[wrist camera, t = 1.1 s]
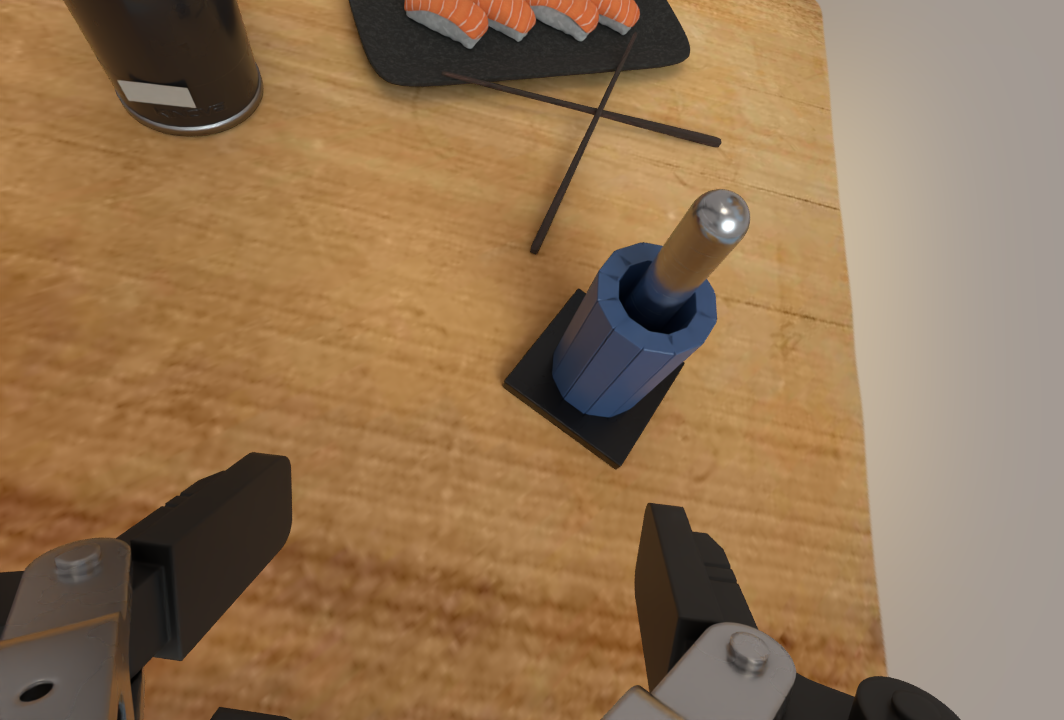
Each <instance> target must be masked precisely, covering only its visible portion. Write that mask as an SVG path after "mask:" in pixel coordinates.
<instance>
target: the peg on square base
mask: <svg viewBox="0 0 1064 720" xmlns="http://www.w3.org/2000/svg"><path fill="white" fill-rule="evenodd" d="M749 224H750V212H749V208H748V206H747V204H746V202H745V201H744V200H743V198H742V197H741V196H739V195H738V194H736V193H735V192H733V191H730V190H725V189H716V190H711V191H708V192H706V193H704V194H702V195H701V196H700V197H698V198H697V199H696V200H695V201H694V203H693V204H692V205H691V207H690V208H689V209H688V211H687V212H686V214H685V215H684V217H683V218H682V220H681V221H680V222H679V224H678V225H677V227H676V228H675V230H674V231H673V233H672V234H671V235H670V237H669V238H668V240H667V241H666V243H665V244H664V246H663V247H662V248H661V250H660V251H659V253H658V254H657V256H656V257H655V259H654V260H653V261H652V263H651V264H650V266H649V267H648V269H647V270H646V272H645V273H644V274H643V276H642V277H641V279H640V280H639V282H638V283H637V285H636V286H635V287H634V289H633V290H632V292H631V293H630V295H629V296H628V298H627V299H626V300H625V302H624V303H623V305H622V306H623V308H624V309H625V311H626V313H627V315H628V317H629V318H631V319H632V320H634V321H635V322H636V323H638V324H639V325H641V326H642V327H644V328H645V329H646V330H648V331H652V332H659V331H660V330H661V329H662V328H663V327H664V326H665V324H666V323H667V322H668V321H669V320H670V319H671V318H672V317H673V316H674V314H675V313H676V312H677V311H678V310H679V309H680V308H681V307H682V306H683V304H684V303H685V302H686V301H687V300H688V299H689V298H690V297H691V296H692V294H693V293H694V292H695V291H696V290H697V289H698V288H699V287H700V286H701V284H702V283H703V282H704V281H705V280H706V279H707V278H708V277H709V276H710V274H711V273H712V272H713V271H714V270H715V269H716V268H717V267H718V265H719V264H720V263H721V262H722V261H723V260H724V259H725V258H726V257H727V255H728V254H729V253H730V252H731V251H732V250H733V249H734V248H735V247H736V245H737V244H738V243H739V242H740V241H741V240H742V239H743V237H744V236H745V234H746V232H747V230H748V227H749ZM585 295H586V293H585V292H583V291H582V290H580V289H577V290H576V292H575V293H574V294H573V295H572V297H571V298H570V299H569V300H568V302H567V303H566V304H565V305H564V307H563V308H562V309H561V310H560V312H559V313H558V314H557V315H556V317H555V318H554V319H553V320H552V322H551V323H550V324H549V325H548V327H547V328H546V329H545V330H544V332H543V333H542V334H541V335H540V337H539V338H538V339H537V340H536V342H535V343H534V344H533V345H532V347H531V348H530V349H529V350H528V352H527V353H526V354H525V355H524V357H523V358H522V359H521V360H520V362H519V363H518V364H517V365H516V367H515V368H514V369H513V371H512V372H511V373H510V374H509V376H508V377H507V378H506V379H505V381H504V383H503V387H504V388H505V389H506V390H508V391H509V392H510V393H512V394H513V395H515V396H516V397H517V398H519V399H520V400H521V401H523V402H524V403H525V404H527V405H528V406H530V407H531V408H532V409H534V410H535V411H536V412H538V413H539V414H541V415H542V416H543V417H545V418H546V419H547V420H549V421H550V422H551V423H553V424H554V425H556V426H557V427H558V428H560V429H561V430H562V431H564V432H565V433H566V434H568V435H569V436H571V437H572V438H573V439H575V440H576V441H577V442H579V443H580V444H581V445H583V446H584V447H586V448H587V449H588V450H590V451H591V452H592V453H594V454H595V455H597V456H598V457H599V458H601V459H602V460H603V461H605V462H606V463H607V464H609V465H610V466H612V467H613V468H614V469H618V468H619V467H621V466H622V464H623V462H624V461H625V459H626V458H627V456H628V454H629V453H630V451H631V450H632V448H633V446H634V445H635V443H636V441H637V440H638V438H639V437H640V435H641V433H642V432H643V430H644V429H645V427H646V425H647V424H648V422H649V420H650V419H651V417H652V416H653V414H654V412H655V411H656V409H657V408H658V406H659V404H660V403H661V401H662V400H663V398H664V396H665V395H666V393H667V391H668V390H669V388H670V387H671V385H672V383H673V382H674V380H675V379H676V377H677V375H678V374H679V372H680V370H681V369H682V367H683V366H684V362H682V363H681V364H680V365H679V366H678V367H677V368H676V369H674V370H673V371H672V372H671V373H670V374H669V375H668V376H667V377H666V378H664V379H663V380H662V381H661V382H660V383H659V384H658V385H657V386H656V387H654V388H653V389H652V390H651V391H650V392H649V393H648V394H647V395H646V396H644V397H643V398H642V399H641V400H640V401H639V402H638V403H637V404H636V405H634V406H633V407H632V408H631V409H629V410H627V411H624V412H622V413H620V414H617V415H615V416H613V417H602V416H595V415H588V414H586V413H582V412H581V411H579V410H578V409H577V408H575V407H574V406H572V405H571V404H570V403H568V402H567V401H566V400H564V398H563V397H562V395H561V393H560V391H559V389H558V387H557V385H556V383H555V381H554V379H553V375H552V369H553V355H554V351H555V350H556V348H557V346H558V344H559V342H560V340H561V339H562V337H563V335H564V333H565V331H566V330H567V328H568V326H569V324H570V322H571V320H572V319H573V317H574V315H575V313H576V311H577V310H578V308H579V306H580V304H581V302H582V300H583V299H584V297H585Z"/></svg>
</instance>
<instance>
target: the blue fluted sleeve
mask: <svg viewBox="0 0 1064 720" xmlns="http://www.w3.org/2000/svg"><path fill="white" fill-rule="evenodd" d="M662 247H663V246H660V245H655V244H650V243H644V242H643V243H638V244H635V245H631V246H628V247H625V248H622V249H618V250H616V251H614V252H613V253H612V255H611V256H610V257H609V258H608V260H607V261H606V262H605V263H604V265H603V266H602V267H601V269H600V270H599V271H598V273H597V275H596V277H595V279H594V280H593V282H592V284H591V286H590V288H589V289H588V291H587V293H586V295H585V297H584V299H583V300H582V302H581V304H580V306H579V308H578V310H577V311H576V313H575V315H574V317H573V319H572V320H571V322H570V324H569V326H568V328H567V330H566V331H565V333H564V335H563V337H562V339H561V340H560V342H559V344H558V346H557V348H556V350H555V351H554V355H553V369H552V375H553V379H554V381H555V383H556V385H557V387H558V389H559V391H560V393H561V395H562V397H563V398H564V400H566V401H567V402H568V403H570V404H571V405H572V406H574V407H575V408H577V409H578V410H579V411H581V412H582V413H586V414H588V415H595V416H602V417H613V416H615V415H617V414H620V413H622V412H624V411H627V410H629V409H631V408H632V407H633V406H634V405H636V404H637V403H638V402H639V401H640V400H641V399H642V398H643V397H644V396H646V395H647V394H648V393H649V392H650V391H651V390H652V389H653V388H654V387H656V386H657V385H658V384H659V383H660V382H661V381H662V380H663V379H664V378H666V377H667V376H668V375H669V374H670V373H671V372H672V371H673V370H674V369H676V368H677V367H678V366H679V365H680V364H681V363H682V362H683V361H684V360H686V359H687V358H688V357H689V356H690V355H691V354H692V353H693V352H694V351H696V350H697V349H698V348H699V347H700V346H701V345H702V344H703V343H704V342H705V340H706V339H707V337H708V335H709V334H710V332H711V330H712V329H713V327H714V325H715V324H716V321H717V312H716V296H715V293H714V290H713V288H712V286H711V285H710V283H709V282H708V280H707V279H706V280H705V281H704V282H703V283H702V284H701V286H700V287H699V288H698V289H697V290H696V291H695V292H694V293H693V294H692V296H691V297H690V298H689V299H688V300H687V301H686V302H685V303H684V304H683V306H682V307H681V308H680V309H679V310H678V311H677V312H676V313H675V314H674V316H673V317H672V318H671V319H670V320H669V321H668V322H667V323H666V324H665V326H664V327H663V328H662V329H661V330H660V331H659V332H652V331H648V330H646V329H645V328H644V327H642V326H641V325H639V324H638V323H636V322H635V321H634V320H632V319H631V318H629V317H628V315H627V313H626V311H625V309H624V308H623V306H622V305H623V303H624V302H625V300H626V299H627V298H628V296H629V295H630V293H631V292H632V290H633V289H634V287H635V286H636V285H637V283H638V282H639V280H640V279H641V277H642V276H643V274H644V273H645V272H646V270H647V269H648V267H649V266H650V264H651V263H652V261H653V260H654V259H655V257H656V256H657V254H658V253H659V251H660V250H661V248H662Z"/></svg>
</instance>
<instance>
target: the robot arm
mask: <svg viewBox="0 0 1064 720" xmlns="http://www.w3.org/2000/svg"><path fill="white" fill-rule="evenodd" d="M63 1H64V2H65V4H66V6H67V7H68V9H69V11H70V13H71V14H72V16H73V18H74V19H75V21H76V23H77V24H78V26H79V28H80V29H81V31H82V33H83V35H84V36H85V38H86V40H87V41H88V43H89V45H90V46H91V48H92V50H93V52H94V53H95V55H96V57H97V59H98V60H99V62H100V64H101V66H102V67H103V69H104V71H105V72H106V74H107V76H108V77H109V79H110V81H111V82H112V84H113V86H114V88H115V90H116V93H117V95H118V97H119V99H120V101H121V102H122V104H123V106H124V107H125V109H126V110H127V111H128V113H129V114H130V115H131V116H132V117H133V118H135V119H136V120H137V121H139V122H140V123H142V124H143V125H145V126H147V127H149V128H151V129H154V130H157V131H159V132H163V133H167V134H172V135H178V136H203V135H210V134H214V133H218V132H222V131H225V130H227V129H230V128H232V127H234V126H236V125H238V124H240V123H241V122H243V121H244V120H246V119H247V118H248V117H249V116H250V115H251V114H252V113H253V112H254V111H255V110H256V108H257V107H258V105H259V103H260V101H261V98H262V94H263V82H262V78H261V75H260V72H259V69H258V66H257V64H256V63H255V60H254V57H253V54H252V50H251V47H250V44H249V40H248V37H247V33H246V30H245V26H244V23H243V20H242V16H241V13H240V10H239V6H238V3H237V0H63ZM291 525H292V489H291V464H290V461H289V459H288V458H287V457H286V456H280V455H272V454H264V453H256V452H252V453H249V454H248V455H246V456H245V457H243V458H242V459H241V460H239V461H238V462H237V463H235V464H234V465H232V466H231V467H230V468H228V469H227V470H226V471H221V472H219V473H216V474H214V475H211V476H208V477H206V478H203V479H201V480H198V481H197V482H196V483H194V484H193V485H191V486H190V487H189V488H187V489H186V490H184V491H183V492H181V494H180V496H176V497H174V498H173V499H171V500H170V501H169V502H167V503H166V505H165V507H163V506H161V507H160V508H159V509H157V510H156V511H154V512H153V513H151V514H150V515H149V516H147V517H146V518H144V519H143V520H141V521H140V522H139V523H137V524H136V525H134V526H133V527H131V528H130V529H129V530H127V531H126V532H124V533H123V534H121V535H120V536H119V537H117V538H116V539H115V538H91V539H85V540H80V541H75V542H72V543H68V544H65V545H62V546H60V547H57V548H55V549H53V550H50V551H48V552H46V553H45V554H43V555H41V556H39V557H38V558H36V559H35V560H34V561H33V562H31V563H30V564H29V565H28V566H27V568H26V569H25V571H15V572H2V573H0V720H144V695H145V677H144V668H143V667H144V666H145V665H146V663H147V662H148V661H149V660H150V659H151V658H152V657H157V658H163V659H170V660H177V661H182V660H183V659H184V658H185V657H186V656H187V654H188V653H189V652H190V651H191V650H192V649H193V648H194V647H195V645H196V644H197V643H198V642H199V641H200V640H201V639H202V638H203V636H204V635H205V634H206V633H207V632H208V631H209V630H210V628H211V627H212V626H213V625H214V624H215V623H216V622H217V621H218V619H219V618H220V617H221V616H222V615H223V614H224V613H225V612H226V610H227V609H228V608H229V607H230V606H231V605H232V604H233V603H234V601H235V600H236V599H237V598H238V597H239V596H240V595H241V594H242V592H243V591H244V590H245V589H246V588H247V587H248V586H249V585H250V583H251V582H252V581H253V580H254V579H255V578H256V577H257V576H258V574H259V573H260V572H261V571H262V570H263V569H264V568H265V567H266V565H267V564H268V563H269V562H270V561H271V560H272V559H273V557H274V556H275V555H276V554H277V553H278V552H279V551H280V550H281V548H282V547H283V546H284V544H285V542H286V541H287V538H288V536H289V533H290V529H291ZM635 599H636V605H637V612H638V619H639V625H640V632H641V638H642V645H643V652H644V658H645V665H646V672H647V678H648V685H649V692H650V693H649V692H648V691H646V690H645V689H644V688H642V687H641V686H639V685H636V686H633V687H632V688H630V689H629V690H628V691H627V692H626V693H625V694H624V695H623V696H622V697H621V698H620V699H619V700H618V701H617V703H616V704H615V705H614V706H613V707H612V708H611V709H610V710H609V711H608V712H607V713H606V714H605V715H604V716H603V718H602V719H601V720H960V719H959V717H958V716H957V715H956V714H955V713H954V712H953V711H952V710H950V709H949V708H948V707H947V706H946V705H945V704H943V703H942V702H941V701H939V700H938V699H937V698H935V697H934V696H932V695H931V694H929V693H927V692H926V691H924V690H922V689H920V688H918V687H916V686H914V685H912V684H909V683H907V682H904V681H901V680H898V679H894V678H890V677H883V676H875V677H869V678H867V679H865V680H863V681H862V682H861V683H860V684H859V686H858V688H857V691H856V695H855V697H854V696H851V695H848V694H846V693H843V692H840V691H838V690H835V689H832V688H830V687H827V686H824V685H822V684H819V683H816V682H814V681H812V680H809V679H807V678H805V677H803V676H801V675H800V674H798V673H796V669H795V665H794V663H793V660H792V658H791V657H790V655H789V654H788V652H787V651H786V650H785V649H784V648H783V647H782V646H781V645H780V644H779V643H778V642H777V641H775V640H774V639H773V638H771V637H770V636H768V635H767V634H765V633H763V632H761V631H759V630H758V628H757V626H756V623H755V621H754V619H753V616H752V614H751V612H750V610H749V607H748V605H747V603H746V600H745V598H744V596H743V594H742V591H741V589H740V587H739V584H737V580H736V577H735V575H734V573H733V571H732V569H730V564H729V561H728V559H727V557H726V554H725V552H724V550H723V548H721V547H720V546H719V545H718V544H717V543H716V542H715V541H714V540H713V539H712V538H711V537H710V536H709V535H708V534H707V533H699V532H692V530H691V527H690V524H689V521H688V518H687V516H686V513H685V510H684V508H683V507H679V506H671V505H663V504H655V503H648V504H647V506H646V510H645V514H644V520H643V526H642V532H641V538H640V544H639V550H638V556H637V562H636V569H635ZM210 720H291V719H289V718H287V717H283V716H276V715H270V714H263V713H257V712H250V711H243V710H237V709H230V708H224V707H219V708H218V710H217V711H216V712H215V714H214V715H213V716H212V718H211V719H210Z"/></svg>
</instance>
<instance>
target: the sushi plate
mask: <svg viewBox="0 0 1064 720" xmlns="http://www.w3.org/2000/svg"><path fill="white" fill-rule="evenodd" d="M349 3H350V7H351V10H352V13H353V17H354V20H355V23H356V26H357V29H358V33H359V36H360V39H361V42H362V45H363V47H364V50H365V53H366V55H367V57H368V60H369V62H370V64H371V65H372V67H373V69H374V70H375V71H376V73H377V74H378V75H379V76H380V77H381V78H383V79H384V80H385V81H387V82H390V83H393V84H397V85H402V86H443V85H457V84H470V83H474V84H477V85H481V86H485V87H489V88H493V89H497V90H501V91H505V92H509V93H512V94H516V95H520V96H524V97H528V98H532V99H536V100H540V101H543V102H547V103H551V104H555V105H559V106H563V107H567V108H570V109H574V110H578V111H582V112H586V113H589V114H593V115H594V117H593V119H592V122H591V124H590V126H589V128H588V130H587V132H586V134H585V136H584V138H583V140H582V142H581V144H580V146H579V148H578V150H577V153H576V155H575V157H574V159H573V161H572V163H571V165H570V167H569V169H568V171H567V173H566V175H565V177H564V179H563V181H562V183H561V185H560V187H559V189H558V192H557V194H556V196H555V198H554V200H553V202H552V204H551V206H550V208H549V210H548V212H547V214H546V216H545V218H544V220H543V223H542V225H541V227H540V229H539V231H538V233H537V235H536V237H535V239H534V241H533V244H532V246H531V250H530V252H531V253H534V254H537V253H538V251H539V249H540V247H541V244H542V242H543V240H544V238H545V236H546V234H547V231H548V229H549V227H550V225H551V223H552V221H553V218H554V216H555V214H556V212H557V210H558V207H559V205H560V203H561V201H562V199H563V196H564V194H565V192H566V190H567V188H568V185H569V183H570V181H571V179H572V176H573V174H574V172H575V170H576V168H577V165H578V163H579V161H580V159H581V157H582V154H583V152H584V150H585V148H586V146H587V143H588V141H589V139H590V137H591V135H592V132H593V130H594V128H595V126H596V124H597V122H598V119H599V117H604V118H608V119H611V120H615V121H619V122H622V123H626V124H629V125H633V126H637V127H640V128H644V129H648V130H652V131H655V132H659V133H663V134H667V135H670V136H674V137H678V138H682V139H686V140H690V141H693V142H697V143H701V144H705V145H709V146H713V147H719V146H720V144H721V139H719V138H717V137H714V136H710V135H706V134H702V133H698V132H694V131H690V130H685V129H681V128H677V127H673V126H669V125H665V124H661V123H656V122H652V121H648V120H644V119H640V118H635V117H631V116H627V115H622V114H618V113H614V112H610V111H605V110H603V108H604V106H605V104H606V102H607V100H608V98H609V95H610V93H611V91H612V89H613V87H614V84H615V82H616V80H617V78H618V76H619V74H620V71H626V70H638V69H648V68H657V67H665V66H670V65H675V64H678V63H680V62H682V61H684V60H685V59H687V58H688V57H689V54H690V45H689V42H688V39H687V36H686V34H685V32H684V30H683V28H682V26H681V24H680V22H679V21H678V19H677V17H676V15H675V14H674V12H673V10H672V8H671V7H670V5H669V3H668V2H667V0H349ZM614 71H616V72H615V74H614V76H613V78H612V80H611V82H610V84H609V86H608V88H607V90H606V92H605V94H604V97H603V99H602V101H601V103H600V105H599V107H598V109H597V108H592V107H588V106H584V105H580V104H576V103H572V102H567V101H563V100H559V99H555V98H551V97H547V96H543V95H539V94H535V93H531V92H527V91H523V90H519V89H515V88H511V87H507V86H503V85H499V84H495V83H491V82H494V81H506V80H518V79H530V78H542V77H554V76H566V75H578V74H590V73H602V72H614Z"/></svg>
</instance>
